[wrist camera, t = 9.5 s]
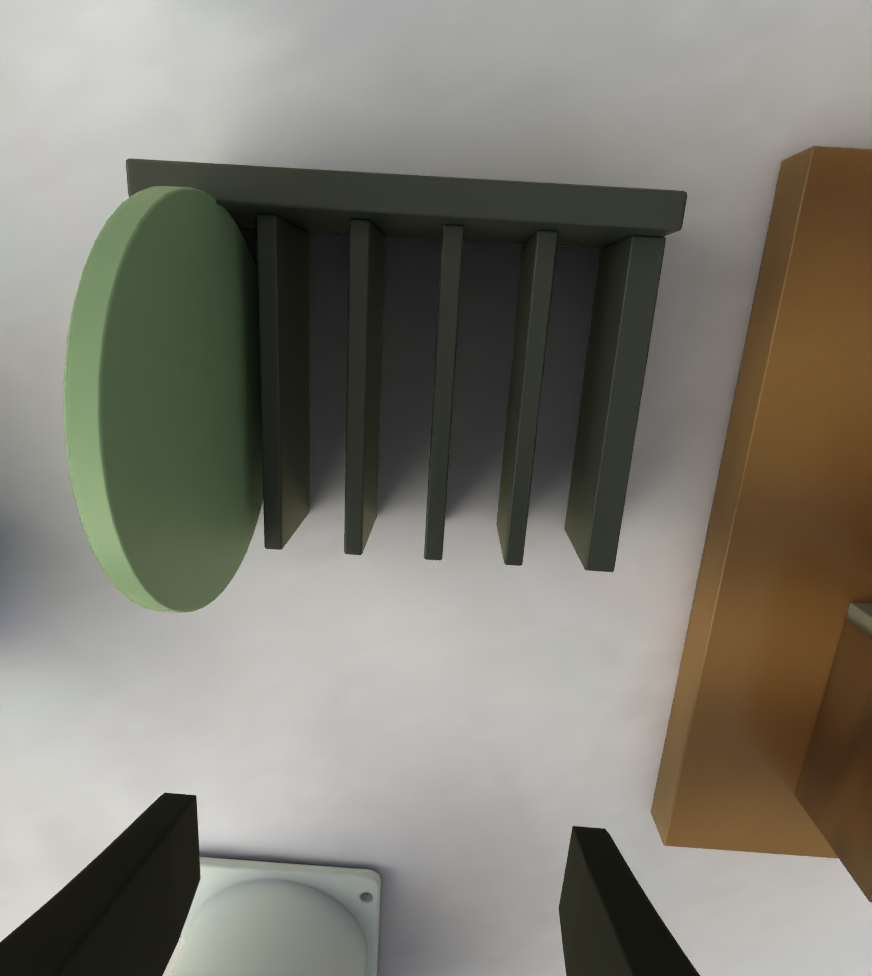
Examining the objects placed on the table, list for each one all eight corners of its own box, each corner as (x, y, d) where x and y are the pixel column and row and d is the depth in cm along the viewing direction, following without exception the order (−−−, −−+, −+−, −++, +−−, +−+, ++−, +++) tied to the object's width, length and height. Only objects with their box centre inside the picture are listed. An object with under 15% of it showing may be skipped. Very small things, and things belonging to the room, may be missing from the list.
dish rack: (586, 547, 19) (697, 746, 10) (218, 522, 20) (21, 698, 11) (632, 220, 17) (838, 112, 8) (203, 194, 17) (-83, 60, 8)
